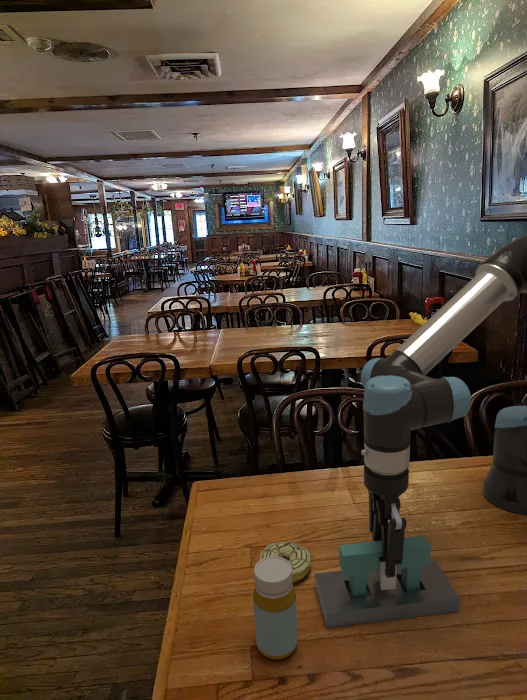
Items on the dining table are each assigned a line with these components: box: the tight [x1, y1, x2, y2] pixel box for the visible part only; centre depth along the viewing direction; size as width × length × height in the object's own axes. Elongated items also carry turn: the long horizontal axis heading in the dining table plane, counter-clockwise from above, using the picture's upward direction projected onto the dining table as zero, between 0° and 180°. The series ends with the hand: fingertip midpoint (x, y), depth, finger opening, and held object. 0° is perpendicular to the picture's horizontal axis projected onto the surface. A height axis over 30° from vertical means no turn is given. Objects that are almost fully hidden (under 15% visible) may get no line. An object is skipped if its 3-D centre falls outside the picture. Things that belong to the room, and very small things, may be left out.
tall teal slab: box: [338, 535, 432, 599], centre depth 89 cm, size 16×3×10 cm, turn 96°
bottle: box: [252, 556, 299, 661], centre depth 80 cm, size 7×7×15 cm
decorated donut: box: [258, 541, 312, 584], centre depth 99 cm, size 10×11×4 cm
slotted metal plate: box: [314, 559, 461, 629], centre depth 90 cm, size 24×10×3 cm, turn 96°
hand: (384, 580), depth 89 cm, fingers closed on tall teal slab, 3 cm apart
